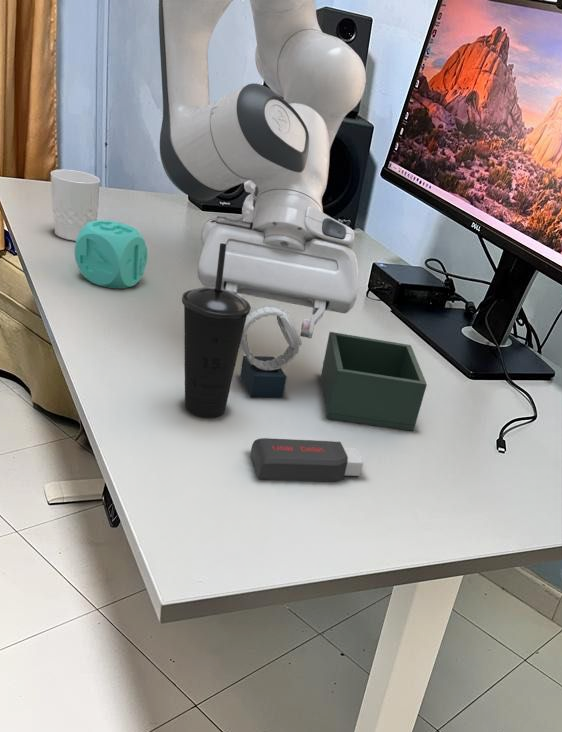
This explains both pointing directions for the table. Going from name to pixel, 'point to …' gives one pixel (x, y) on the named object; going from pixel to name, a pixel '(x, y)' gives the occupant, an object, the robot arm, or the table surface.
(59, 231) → the white cup
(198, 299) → the drinking cup
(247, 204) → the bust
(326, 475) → the usb drive
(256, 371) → the watch
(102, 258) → the decorative dice
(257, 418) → the table surface
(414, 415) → the open box
